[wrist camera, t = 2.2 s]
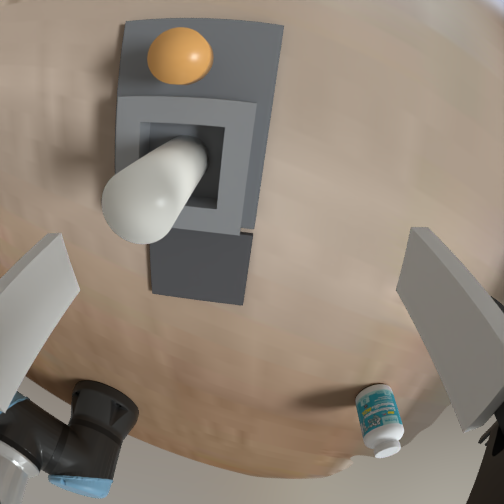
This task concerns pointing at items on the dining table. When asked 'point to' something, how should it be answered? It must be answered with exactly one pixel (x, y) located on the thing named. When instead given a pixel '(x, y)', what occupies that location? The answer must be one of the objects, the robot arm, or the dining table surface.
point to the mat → (201, 265)
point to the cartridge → (154, 190)
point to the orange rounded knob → (180, 56)
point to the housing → (204, 114)
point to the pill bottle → (379, 420)
